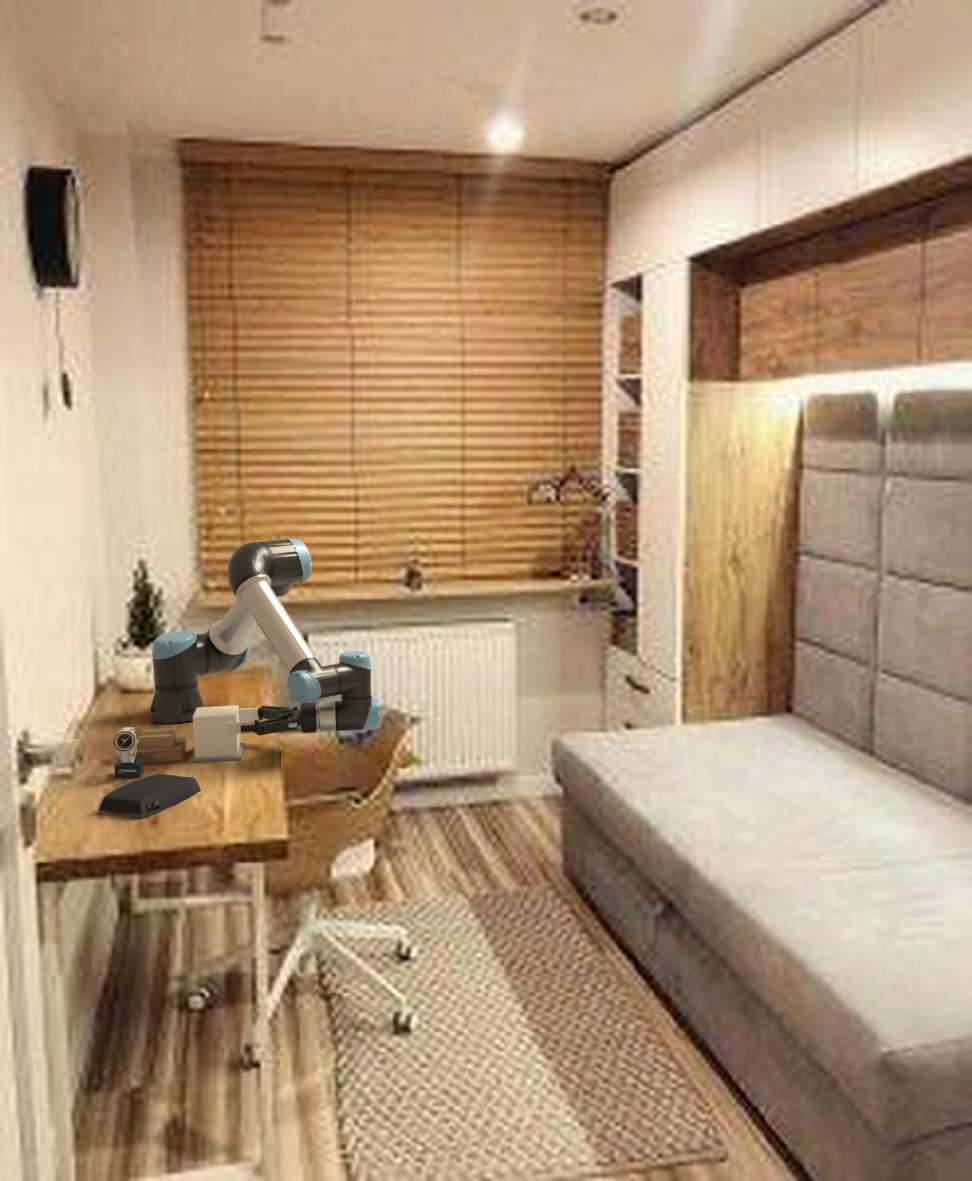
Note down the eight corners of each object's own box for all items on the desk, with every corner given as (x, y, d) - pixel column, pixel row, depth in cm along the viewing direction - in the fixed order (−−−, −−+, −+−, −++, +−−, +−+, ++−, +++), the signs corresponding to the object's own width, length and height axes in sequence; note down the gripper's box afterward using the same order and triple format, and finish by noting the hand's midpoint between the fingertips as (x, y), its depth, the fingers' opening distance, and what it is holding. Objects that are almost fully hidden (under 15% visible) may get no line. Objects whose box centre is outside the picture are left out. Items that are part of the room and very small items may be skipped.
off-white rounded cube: (198, 746, 276) (197, 707, 275) (240, 744, 278) (238, 705, 276) (194, 758, 266) (192, 717, 265) (237, 755, 268) (235, 714, 267)
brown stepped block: (136, 751, 275) (135, 727, 274) (186, 748, 277) (185, 725, 276) (129, 765, 263) (127, 740, 262) (181, 762, 265) (180, 737, 264)
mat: (195, 747, 278) (195, 745, 278) (244, 744, 280) (244, 742, 280) (189, 763, 264) (189, 760, 264) (241, 760, 266) (241, 757, 266)
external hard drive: (94, 814, 230) (93, 795, 229) (156, 787, 247) (155, 769, 247) (145, 821, 225) (144, 802, 224) (204, 793, 242) (203, 775, 242)
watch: (112, 780, 251) (110, 733, 250) (121, 770, 259) (118, 724, 258) (138, 780, 251) (135, 732, 250) (146, 769, 259) (143, 723, 258)
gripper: (317, 745, 262) (225, 750, 259) (317, 720, 287) (233, 724, 284) (316, 714, 261) (223, 718, 258) (316, 691, 286) (232, 695, 283)
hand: (228, 721), depth 271 cm, fingers open, 13 cm apart
